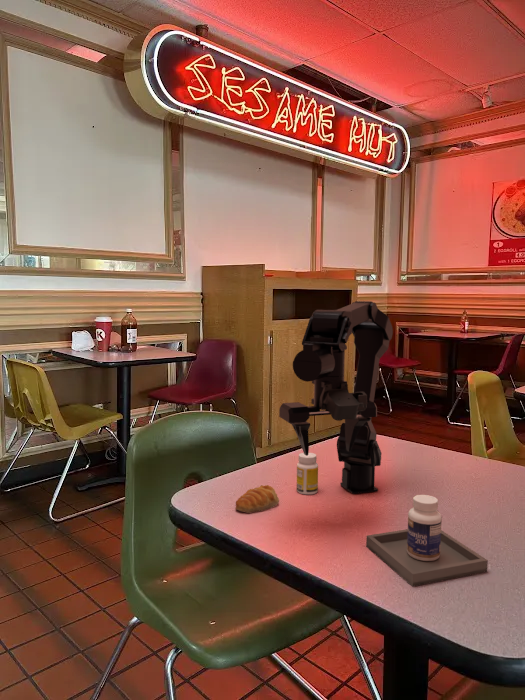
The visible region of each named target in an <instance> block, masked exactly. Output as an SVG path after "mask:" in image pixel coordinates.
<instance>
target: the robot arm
mask: <svg viewBox="0 0 525 700" xmlns="http://www.w3.org/2000/svg"><path fill="white" fill-rule="evenodd" d="M393 328H394V327H393V325H392V322H391V320H390V317H389V316H388V315H387V314H385V313H384V312H383V311H382V310H381V309H379V307H378V305H377V303H376V302H373V301H370V300H369V301H368V300H365V301H364V300H363V301H362V300H356V301H354V302H353V301H352V303H350V304H348V305H346V306H343V307H340V308H337V309H316V310H314V311H313V313H312V314H311V316H310V317H309V320H308V323H307V326H306V329H305V333H304V336H303V338H302V341H301V345H302V350H300V351H299V352H297V354H296V355H295V356H294V359H293V361H292V370H293V372H294V374H295V376H296V377H297V378H298V379H299V380H300V381H303V382H311V384H313V385H314V386H313V387H314V389H313V391H314V392H313V393H314V395H313V397H312V398H311V402H310V403H311V406H310V405H309V406H307V405H305V404H303V403H301V402H298V401H297V402H283V403H281V405H280V407H279V411H278V413H279V414H278V417H279V418H280V419H282V420H284V421H286V422H287V423H289V424H290V425H291V426H292V428H293V430H294V431H295V434H296V436H297V439H298V440H299V444H300V447H301V448H302V449H301V450H302V453H304V454H305V455H306V456H308V453H310V452H309V451H310V448H309V447H310V445H309V444H310V442H309V441H310V440H309V438H310V437H309V429H310V427H311V423H310V422H308V420H309V419H310V417H316V416H329V415H330V416H331V418H332V419H333V421H339V422H341V421H343V420H344V422H342V423H341V425H340V427H339V429H340V430H339V436H338V438H337V441H336V451H337V457H338V462H340V463H341V462H343V463H344V464H343V467H342V471H341V482H340V484H339V485H340V486H341V487H342V488H344V489H345V490H347V491H348V492H350V494H353V495H356V494H364V493H373V492H378V491H379V488H378V487H376V486H375V478H376V477H375V475H376V474H375V473H376V467H380V466H381V463H382V462H381V461H382V450H381V447H380V446H379V443H378V441H377V430H376V429H375V427H374V425H373V422H372V418H376V417H378V407H377V404H376V403H375V402H374V401H375V396H376V395H375V394H376V388H377V382H378V374H379V373H378V372H379V366H380V360H381V358H382V357H383V356H384V354H385V353H386V352H387V351H388V350H389V346H390V341H391V340H392V338H393V333H394V330H393ZM351 335H353V337H354V338H353V343H354V346H355V348H356V350H357V352H358V361H357V367H356V374H355V375H356V376H355V382H354V387H353V388H354V389H353V392H349V387H348V386H349V384H348V381H346V380H345V359H346V358H345V357H346V355H345V353H346V352H345V351H346V350H347V349H348V346H347V343H348V341H349V338H350V336H351Z"/></svg>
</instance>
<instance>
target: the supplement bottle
mask: <svg viewBox="0 0 525 700" xmlns="http://www.w3.org/2000/svg"><path fill="white" fill-rule="evenodd" d="M317 459H318V458H317V454H316V453H314V452H308V456H306V455H305V454H304V452H300V453H299V454H298V462H297V464H296V492H297V493H299V494H300V495H314V494H316V493H318V491H319V465H318V464H319V463H317V461H318V460H317Z"/></svg>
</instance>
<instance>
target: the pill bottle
mask: <svg viewBox="0 0 525 700" xmlns="http://www.w3.org/2000/svg"><path fill="white" fill-rule="evenodd" d="M438 508H439V499H438V498H437V497H435V496H433V495H428V494H416V495H415V496H413V498H412V507H411V508H410V509H409V511H408V514H407V529H408V536H407V552H408V554H409V555H410V556H411V557H413V558H415V559H417V560H421V561H434V560H437V559H438V558H439V556H440V546H441V530H442V522H443V521H442V517H443V516H442V514H441V513H440V512H439V511H438Z"/></svg>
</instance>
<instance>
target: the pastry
mask: <svg viewBox="0 0 525 700" xmlns="http://www.w3.org/2000/svg"><path fill="white" fill-rule="evenodd" d="M279 503H280V499H279V496H278V494H277V493H276V491H275V488H274V487H273V486H271V485H268V484H265V485H260V486H258V487H254V488H250V489H248V490H247V491H246V492H245V493H244V494H243V495H241V496H240V497H238V498H237V500H236V501H235V510H237V511H240V512H243V513H247V514H250V513H251V514H252V513H257V512H263V511H266V510H269V509H271V508H275V507H276V506H277V505H278V504H279Z"/></svg>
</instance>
